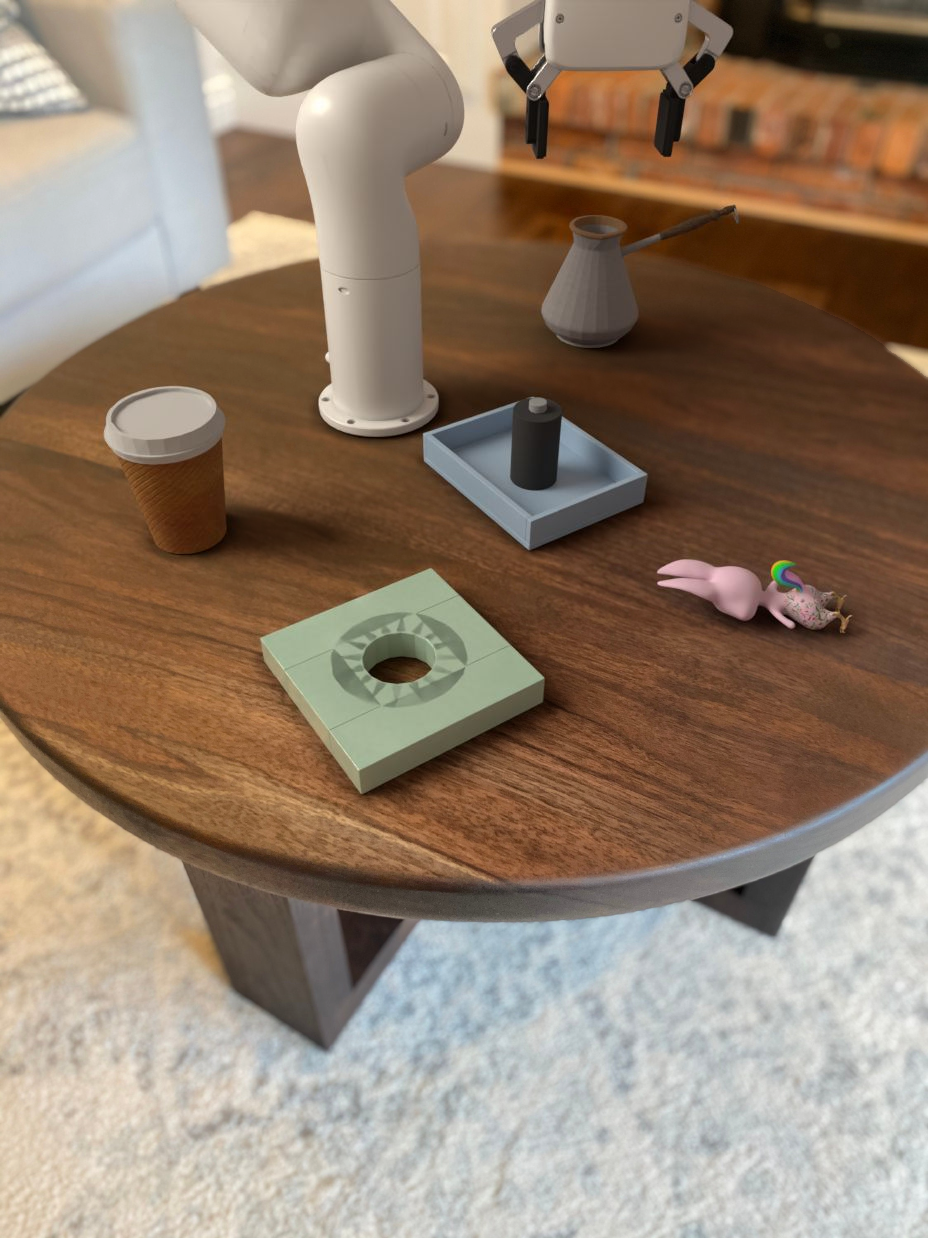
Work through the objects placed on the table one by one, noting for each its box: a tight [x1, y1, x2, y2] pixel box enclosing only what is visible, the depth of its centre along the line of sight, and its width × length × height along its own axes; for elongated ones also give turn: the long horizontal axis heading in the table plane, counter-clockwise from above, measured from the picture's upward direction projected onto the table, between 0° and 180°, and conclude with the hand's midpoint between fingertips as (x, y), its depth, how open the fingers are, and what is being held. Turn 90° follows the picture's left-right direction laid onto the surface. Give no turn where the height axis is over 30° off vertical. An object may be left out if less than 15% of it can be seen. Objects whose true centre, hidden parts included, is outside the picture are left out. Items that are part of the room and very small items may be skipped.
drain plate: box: [259, 567, 546, 795], centre depth 69 cm, size 15×15×2 cm
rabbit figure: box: [656, 558, 853, 634], centre depth 73 cm, size 6×6×15 cm
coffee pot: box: [540, 204, 740, 349], centre depth 108 cm, size 21×12×15 cm, turn 91°
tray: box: [422, 396, 648, 551], centre depth 88 cm, size 17×13×3 cm
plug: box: [510, 396, 563, 490], centre depth 86 cm, size 4×4×8 cm
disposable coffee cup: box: [103, 385, 228, 555], centre depth 79 cm, size 10×10×12 cm
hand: (600, 152), depth 73 cm, fingers open, 9 cm apart
